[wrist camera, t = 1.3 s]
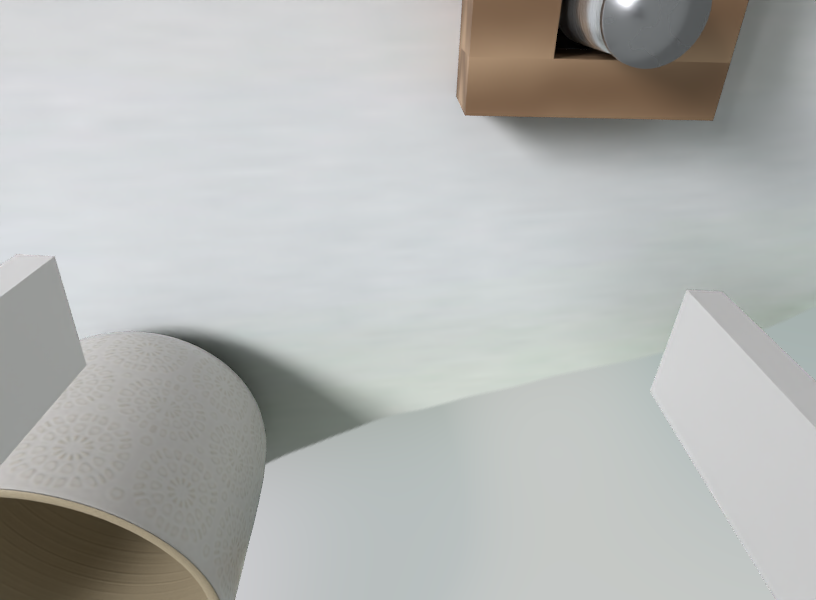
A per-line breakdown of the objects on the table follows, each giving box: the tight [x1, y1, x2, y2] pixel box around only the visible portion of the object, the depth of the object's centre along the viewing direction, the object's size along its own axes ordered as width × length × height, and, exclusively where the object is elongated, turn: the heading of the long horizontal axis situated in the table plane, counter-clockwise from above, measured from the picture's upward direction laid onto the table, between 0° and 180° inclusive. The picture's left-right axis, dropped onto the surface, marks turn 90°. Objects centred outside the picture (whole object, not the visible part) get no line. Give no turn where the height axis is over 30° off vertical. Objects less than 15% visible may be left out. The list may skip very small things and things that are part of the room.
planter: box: [0, 331, 266, 600], centre depth 40 cm, size 21×21×19 cm
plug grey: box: [559, 0, 712, 69], centre depth 26 cm, size 4×4×9 cm
